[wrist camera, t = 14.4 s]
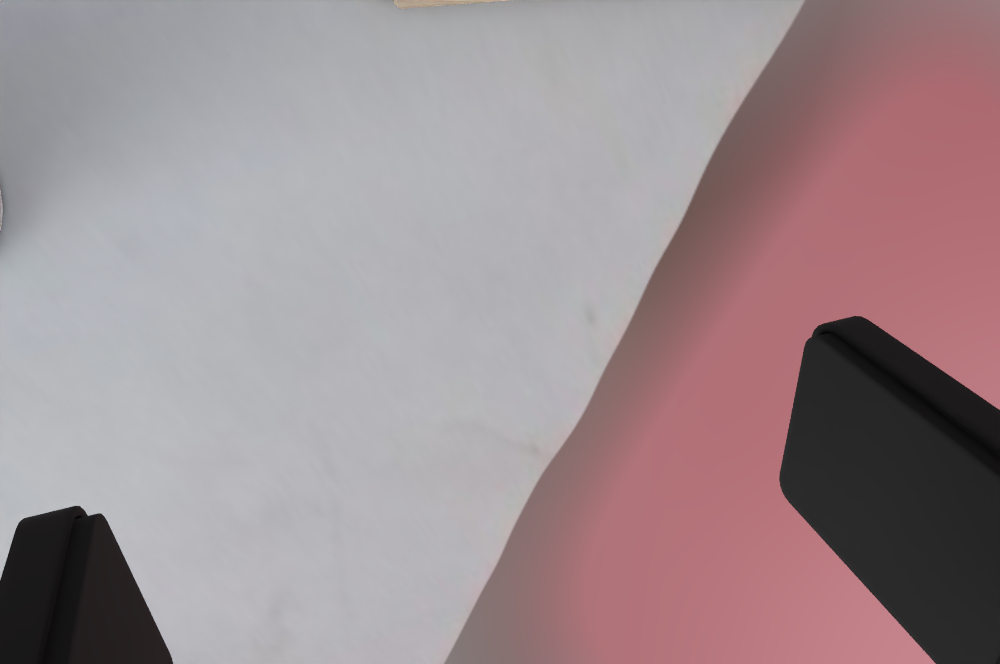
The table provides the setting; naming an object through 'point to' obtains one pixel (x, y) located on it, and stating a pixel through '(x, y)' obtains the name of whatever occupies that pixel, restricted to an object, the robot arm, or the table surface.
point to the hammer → (435, 2)
